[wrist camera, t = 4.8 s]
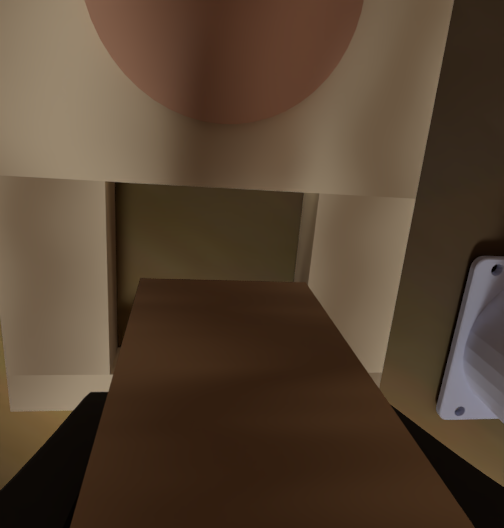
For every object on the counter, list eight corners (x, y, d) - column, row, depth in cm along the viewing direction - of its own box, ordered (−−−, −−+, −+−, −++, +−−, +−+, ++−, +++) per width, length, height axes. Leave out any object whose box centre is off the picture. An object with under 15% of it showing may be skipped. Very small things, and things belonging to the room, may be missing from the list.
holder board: (448, -139, 14) (497, -186, 12) (358, 377, 20) (379, 410, 18) (-27, -227, 12) (-75, -303, 10) (28, 380, 18) (6, 418, 16)
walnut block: (305, 282, 11) (551, 639, 4) (288, 418, 12) (445, 892, 5) (140, 278, 10) (22, 698, 3) (140, 420, 12) (56, 970, 4)
